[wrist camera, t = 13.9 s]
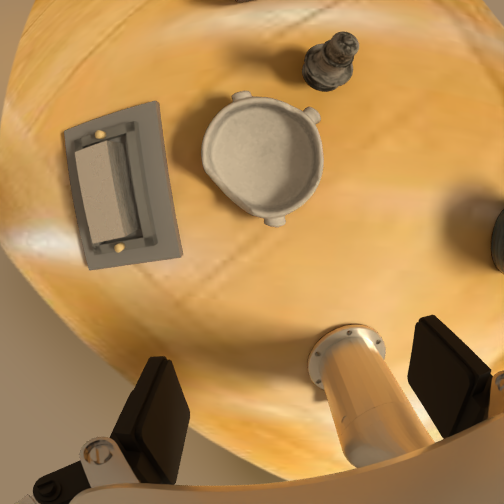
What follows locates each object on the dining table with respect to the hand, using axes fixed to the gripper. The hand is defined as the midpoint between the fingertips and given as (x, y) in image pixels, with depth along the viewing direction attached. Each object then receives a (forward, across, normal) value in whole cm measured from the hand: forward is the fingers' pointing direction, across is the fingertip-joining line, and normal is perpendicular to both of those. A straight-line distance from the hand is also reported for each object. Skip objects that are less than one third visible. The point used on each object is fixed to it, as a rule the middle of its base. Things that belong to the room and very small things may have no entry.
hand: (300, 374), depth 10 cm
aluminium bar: (+27, +18, -8) cm, 33 cm away
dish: (+29, -1, -9) cm, 30 cm away
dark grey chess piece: (+28, -10, -19) cm, 36 cm away
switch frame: (+28, +18, -8) cm, 34 cm away
